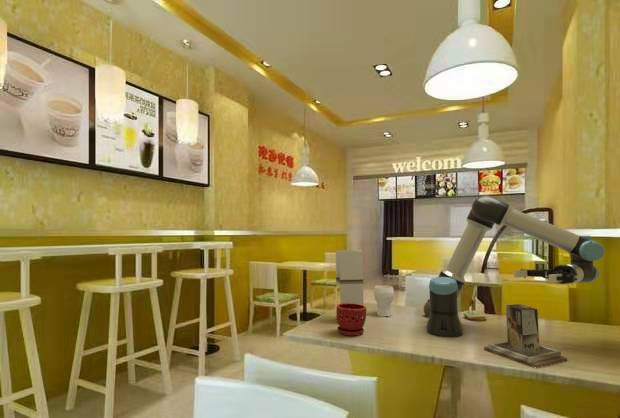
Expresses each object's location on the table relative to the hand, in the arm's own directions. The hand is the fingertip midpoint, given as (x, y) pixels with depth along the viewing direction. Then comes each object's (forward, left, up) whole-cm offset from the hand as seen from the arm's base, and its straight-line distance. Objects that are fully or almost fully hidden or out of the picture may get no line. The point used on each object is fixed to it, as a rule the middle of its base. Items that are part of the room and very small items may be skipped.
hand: (531, 276), depth 135 cm
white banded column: (-67, -42, -27) cm, 83 cm away
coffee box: (+2, -10, -26) cm, 28 cm away
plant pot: (-48, -52, -28) cm, 75 cm away
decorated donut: (-44, +18, -28) cm, 55 cm away
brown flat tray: (+2, -10, -27) cm, 29 cm away
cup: (-70, -19, -27) cm, 77 cm away
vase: (-57, +1, -28) cm, 63 cm away
